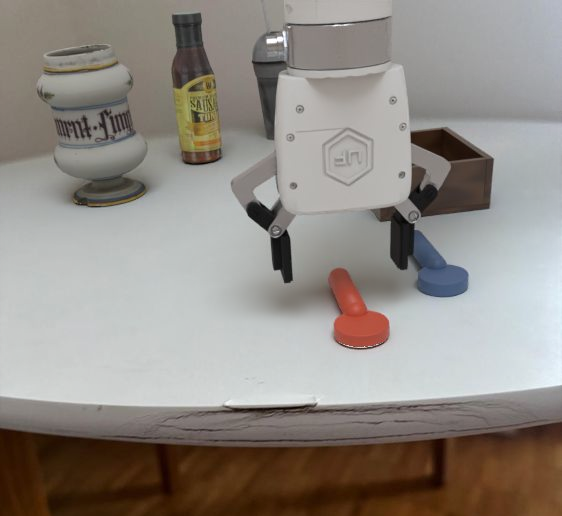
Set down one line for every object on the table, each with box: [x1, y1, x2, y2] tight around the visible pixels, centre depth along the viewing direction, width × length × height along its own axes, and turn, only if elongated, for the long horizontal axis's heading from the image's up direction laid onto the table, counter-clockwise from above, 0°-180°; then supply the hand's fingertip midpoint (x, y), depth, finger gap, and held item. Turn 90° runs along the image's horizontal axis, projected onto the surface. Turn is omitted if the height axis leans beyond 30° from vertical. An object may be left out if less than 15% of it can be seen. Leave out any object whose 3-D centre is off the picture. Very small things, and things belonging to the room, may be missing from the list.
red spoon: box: [327, 267, 390, 347], centre depth 59 cm, size 12×4×2 cm, turn 7°
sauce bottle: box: [170, 11, 222, 164], centre depth 100 cm, size 7×6×20 cm
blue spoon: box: [412, 229, 470, 298], centre depth 65 cm, size 12×4×2 cm, turn 7°
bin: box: [371, 126, 495, 222], centre depth 83 cm, size 13×16×6 cm
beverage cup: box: [251, 0, 287, 141], centre depth 108 cm, size 7×7×20 cm
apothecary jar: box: [36, 43, 149, 207], centre depth 89 cm, size 12×12×18 cm
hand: (342, 270), depth 58 cm, fingers open, 9 cm apart
